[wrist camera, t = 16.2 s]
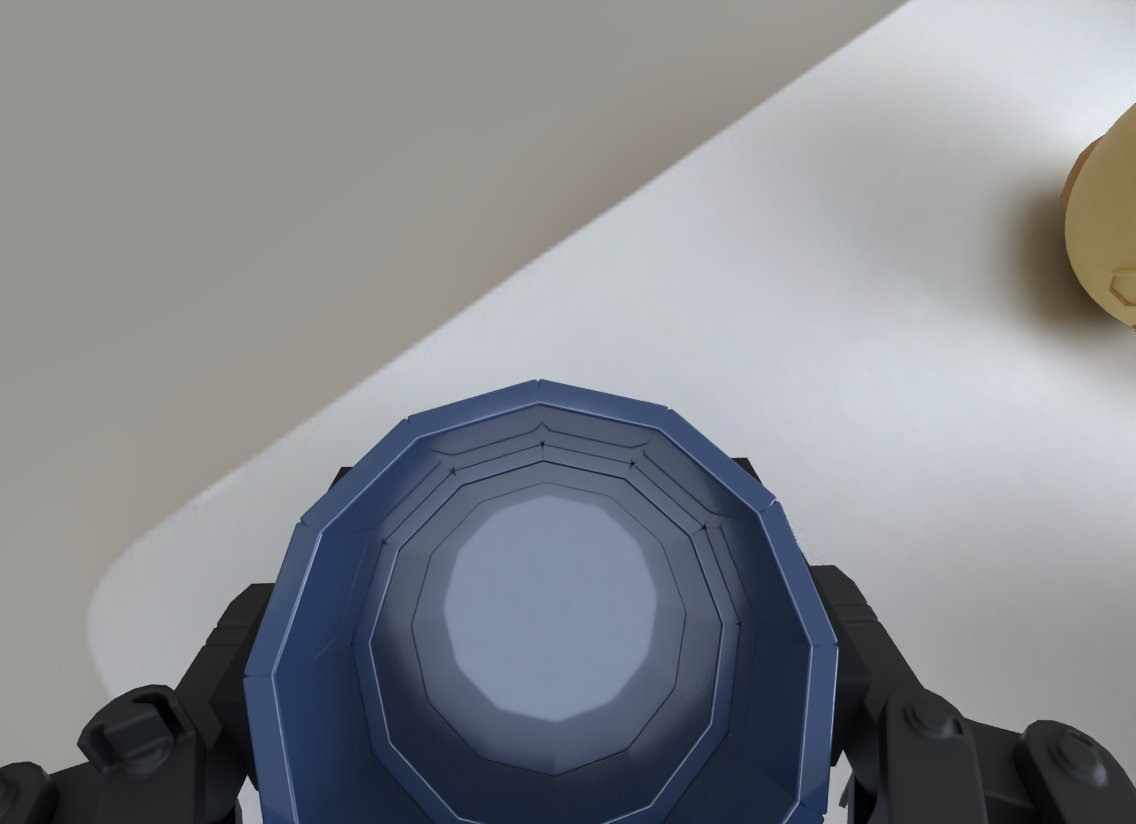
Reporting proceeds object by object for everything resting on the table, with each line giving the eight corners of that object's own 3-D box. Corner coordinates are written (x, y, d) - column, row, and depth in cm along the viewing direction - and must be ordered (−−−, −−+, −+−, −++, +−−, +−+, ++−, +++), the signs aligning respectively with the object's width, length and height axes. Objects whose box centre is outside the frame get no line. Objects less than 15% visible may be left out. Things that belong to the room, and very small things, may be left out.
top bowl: (431, 855, 14) (308, 1151, 7) (358, 511, 16) (210, 471, 9) (758, 731, 15) (940, 881, 8) (645, 423, 17) (708, 327, 10)
